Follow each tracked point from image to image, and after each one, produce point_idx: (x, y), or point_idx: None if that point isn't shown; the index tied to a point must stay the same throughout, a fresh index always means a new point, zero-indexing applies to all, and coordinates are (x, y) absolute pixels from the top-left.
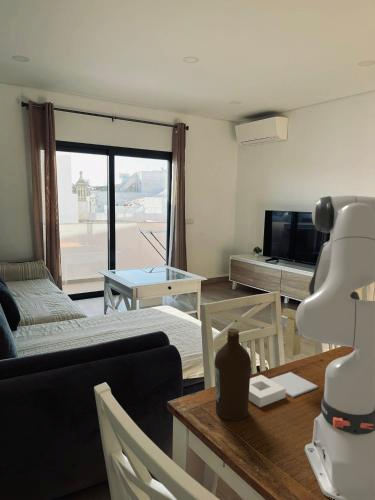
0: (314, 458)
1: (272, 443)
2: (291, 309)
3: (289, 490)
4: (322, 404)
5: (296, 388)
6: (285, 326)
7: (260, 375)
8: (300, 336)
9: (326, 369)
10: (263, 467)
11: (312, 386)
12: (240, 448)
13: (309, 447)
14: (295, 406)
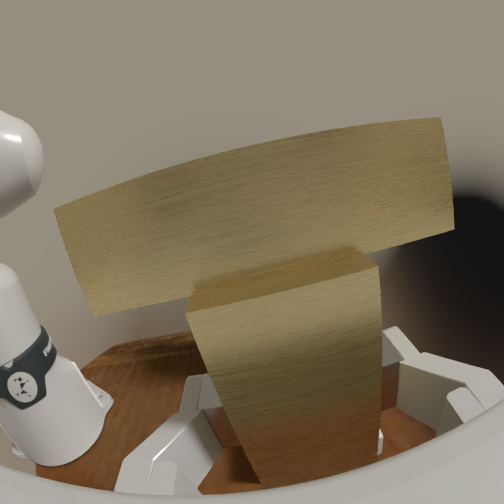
0: (91, 388)
1: (158, 376)
2: (356, 126)
3: (104, 355)
4: (47, 333)
5: None
6: (382, 333)
7: (379, 432)
8: (260, 480)
9: (15, 273)
10: (141, 350)
11: None
12: (184, 342)
13: (103, 397)
14: (206, 479)
